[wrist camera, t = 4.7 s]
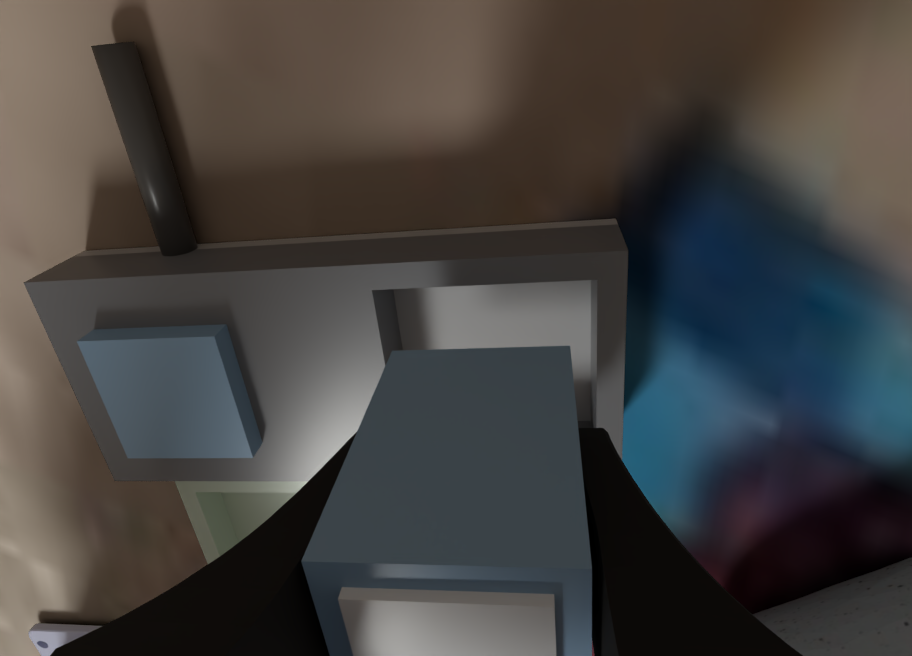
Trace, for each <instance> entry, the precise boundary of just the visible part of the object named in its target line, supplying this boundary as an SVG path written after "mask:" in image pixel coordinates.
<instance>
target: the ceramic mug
mask: <svg viewBox="0 0 912 656" xmlns="http://www.w3.org/2000/svg"><path fill="white" fill-rule="evenodd" d="M753 615H754V616H755V617H756V618H757V619H758V620H759V621H760V622H762V623H763V624H764V625H765V626H766V627H767V628H769V629H770V630H771V631H772V632H773V633H775V634H776V635H777V636H778V637H780V638H781V639H782V640H783V641H785V642H786V643H787V644H788V645H790V646H791V647H792V648H793V649H795V650H796V651H797V652H799V653H800V654H802V655H803V656H912V557H911V558H908V559H905V560H903V561H900V562H897V563H895V564H892V565H889V566H887V567H884V568H882V569H879V570H876V571H873V572H870V573H867V574H864V575H862V576H859V577H856V578H853V579H850V580H847V581H844V582H841V583H839V584H836V585H833V586H830V587H828V588H825V589H822V590H820V591H817V592H815V593H812V594H809V595H807V596H804V597H802V598H799V599H796V600H793V601H790V602H787V603H784V604H781V605H778V606H775V607H772V608H769V609H766V610H764V611H761V612H758V613H755V614H753Z"/></svg>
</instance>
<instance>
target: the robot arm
mask: <svg viewBox="0 0 912 656" xmlns="http://www.w3.org/2000/svg"><path fill="white" fill-rule="evenodd" d="M578 431H579V441H580V451H581V462H582V472H583V482H584V492H585V502H586V513H587V523H588V533H589V543H590V553H591V564H592V641H593V647H594V654H595V656H803V655H802V654H800V653H799V652H797V651H796V650H795V649H793V648H792V647H791V646H790V645H788V644H787V643H786V642H785V641H783V640H782V639H781V638H780V637H778V636H777V635H776V634H775V633H773V632H772V631H771V630H770V629H769V628H767V627H766V626H765V625H764V624H763V623H762V622H760V621H759V620H758V619H757V618H756V617H755V616H754V615H753V614H752V613H750V612H749V611H748V610H747V609H746V608H745V607H744V606H743V605H742V604H740V603H739V602H738V601H737V600H736V599H735V598H734V597H733V596H732V595H731V594H729V593H728V592H727V591H726V590H725V589H724V588H723V587H722V586H721V585H720V584H719V583H718V582H717V581H716V580H715V579H714V578H713V577H712V576H711V575H710V574H709V573H708V572H707V571H706V570H705V569H704V568H703V567H702V566H701V565H700V564H699V563H698V561H697V560H696V559H695V558H694V557H693V556H692V555H691V554H690V553H689V552H688V551H687V549H686V548H685V547H684V546H683V545H682V544H681V542H680V541H679V540H678V539H677V538H676V537H675V535H674V534H673V533H672V532H671V530H670V529H669V528H668V527H667V525H666V524H665V523H664V522H663V520H662V519H661V518H660V516H659V515H658V514H657V513H656V511H655V510H654V508H653V507H652V506H651V504H650V503H649V502H648V500H647V499H646V497H645V496H644V494H643V493H642V491H641V490H640V488H639V487H638V485H637V484H636V483H635V481H634V480H633V478H632V476H631V475H630V473H629V472H628V470H627V468H626V467H625V465H624V463H623V461H622V460H621V458H620V456H619V454H618V453H617V451H616V449H615V447H614V445H613V443H612V441H611V438H610V436H609V434H608V432H607V431H606V430H605V429H604V428H578ZM356 433H357V432H356ZM356 433H355V434H354V435H353V436H352V437H351V438H350V439H349V440H348V441H347V442H346V443H345V444H344V445H343V446H342V447H341V448H340V449H339V450H338V452H337V453H336V454H335V455H334V456H333V457H332V458H331V459H330V460H329V461H328V462H327V463H326V464H325V465H324V466H323V467H322V468H321V469H320V470H319V471H318V472H317V473H316V474H315V475H314V476H313V477H312V478H311V479H310V480H309V481H308V482H307V483H306V484H305V485H304V486H303V487H302V488H301V489H300V490H299V491H298V492H297V493H296V494H295V495H294V496H293V497H292V498H290V499H289V500H288V501H287V502H286V503H285V504H284V505H283V506H282V507H281V508H279V509H278V510H277V511H276V512H275V513H274V514H273V515H272V516H271V517H270V518H268V519H267V520H266V521H265V522H264V523H263V524H261V525H260V526H259V527H258V528H256V529H255V530H254V531H253V532H252V533H250V534H249V535H248V536H246V537H245V538H244V539H243V540H241V541H240V542H239V543H237V544H236V545H235V546H233V547H232V548H231V549H229V550H228V551H227V552H225V553H224V554H223V555H221V556H220V557H218V558H217V559H215V560H214V561H212V562H211V563H209V564H208V565H206V566H205V567H203V568H202V569H200V570H199V571H197V572H196V573H194V574H193V575H191V576H190V577H188V578H187V579H185V580H184V581H182V582H181V583H179V584H178V585H176V586H174V587H173V588H171V589H169V590H168V591H166V592H164V593H163V594H161V595H159V596H158V597H156V598H154V599H152V600H151V601H149V602H147V603H145V604H143V605H142V606H140V607H138V608H136V609H135V610H133V611H131V612H129V613H127V614H125V615H123V616H122V617H120V618H118V619H116V620H114V621H112V622H110V623H108V624H106V625H104V626H95V625H71V624H48V623H38V624H35V625H34V626H33V627H32V628H31V629H30V631H29V633H28V634H29V637H30V639H31V640H32V642H33V643H34V645H35V646H36V648H37V650H38V651H39V653H40V654H41V656H330V655H329V652H328V648H327V645H326V642H325V638H324V635H323V632H322V628H321V625H320V622H319V618H318V615H317V612H316V609H315V605H314V602H313V599H312V595H311V592H310V589H309V585H308V582H307V579H306V576H305V572H304V569H303V566H302V562H301V561H302V558H303V556H304V554H305V551H306V549H307V547H308V544H309V542H310V540H311V538H312V535H313V533H314V531H315V528H316V526H317V524H318V521H319V519H320V517H321V514H322V512H323V510H324V507H325V505H326V503H327V500H328V498H329V496H330V493H331V491H332V489H333V487H334V484H335V482H336V480H337V477H338V475H339V473H340V470H341V468H342V466H343V463H344V461H345V459H346V456H347V454H348V452H349V449H350V447H351V445H352V442H353V440H354V438H355V435H356Z"/></svg>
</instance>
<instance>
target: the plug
mask: <svg viewBox="0 0 912 656" xmlns="http://www.w3.org/2000/svg"><path fill="white" fill-rule="evenodd" d="M301 562H302V566H303V569H304V572H305V576H306V579H307V582H308V585H309V589H310V592H311V595H312V599H313V602H314V605H315V609H316V612H317V615H318V618H319V622H320V625H321V628H322V632H323V635H324V638H325V642H326V645H327V648H328V652H329V655H330V656H592V564H591V553H590V543H589V533H588V523H587V513H586V502H585V492H584V482H583V472H582V462H581V451H580V441H579V431H578V421H577V410H576V400H575V390H574V380H573V370H572V359H571V349H570V346H539V347H504V348H469V349H434V350H399V351H392V352H391V354H390V357H389V359H388V361H387V364H386V366H385V368H384V371H383V373H382V375H381V378H380V380H379V382H378V384H377V387H376V389H375V391H374V394H373V396H372V398H371V401H370V403H369V405H368V408H367V410H366V412H365V415H364V417H363V419H362V422H361V424H360V426H359V429H358V431H357V433H356V435H355V438H354V440H353V442H352V445H351V447H350V449H349V452H348V454H347V456H346V459H345V461H344V463H343V466H342V468H341V470H340V473H339V475H338V477H337V480H336V482H335V484H334V487H333V489H332V491H331V493H330V496H329V498H328V500H327V503H326V505H325V507H324V510H323V512H322V514H321V517H320V519H319V521H318V524H317V526H316V528H315V531H314V533H313V535H312V538H311V540H310V542H309V544H308V547H307V549H306V551H305V554H304V556H303V558H302V561H301Z"/></svg>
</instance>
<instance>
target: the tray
mask: <svg viewBox="0 0 912 656" xmlns="http://www.w3.org/2000/svg"><path fill="white" fill-rule="evenodd" d="M306 483H307V481H175V484H176V486H177V489H178V491H179V494H180V496H181V499H182V501H183V504H184V506H185V509H186V511H187V514H188V516H189V519H190V521H191V524H192V526H193V529H194V531H195V534H196V536H197V539H198V541H199V544H200V546H201V548H202V551H203V553H204V556H205V558H206V561H207V563H208V564H209V563H211V562H212V561H214V560H215V559H217V558H218V557H220V556H221V555H223V554H224V553H225V552H227V551H228V550H229V549H231V548H232V547H233V546H235V545H236V544H237V543H239V542H240V541H241V540H243V539H244V538H245V537H246V536H248V535H249V534H250V533H252V532H253V531H254V530H255V529H256V528H258V527H259V526H260V525H261V524H263V523H264V522H265V521H266V520H267V519H268V518H270V517H271V516H272V515H273V514H274V513H275V512H276V511H277V510H278V509H279V508H281V507H282V506H283V505H284V504H285V503H286V502H287V501H288V500H289V499H290V498H292V497H293V496H294V495H295V494H296V493H297V492H298V491H299V490H300V489H301V488H302V487H303V486H304V485H305V484H306Z"/></svg>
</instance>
